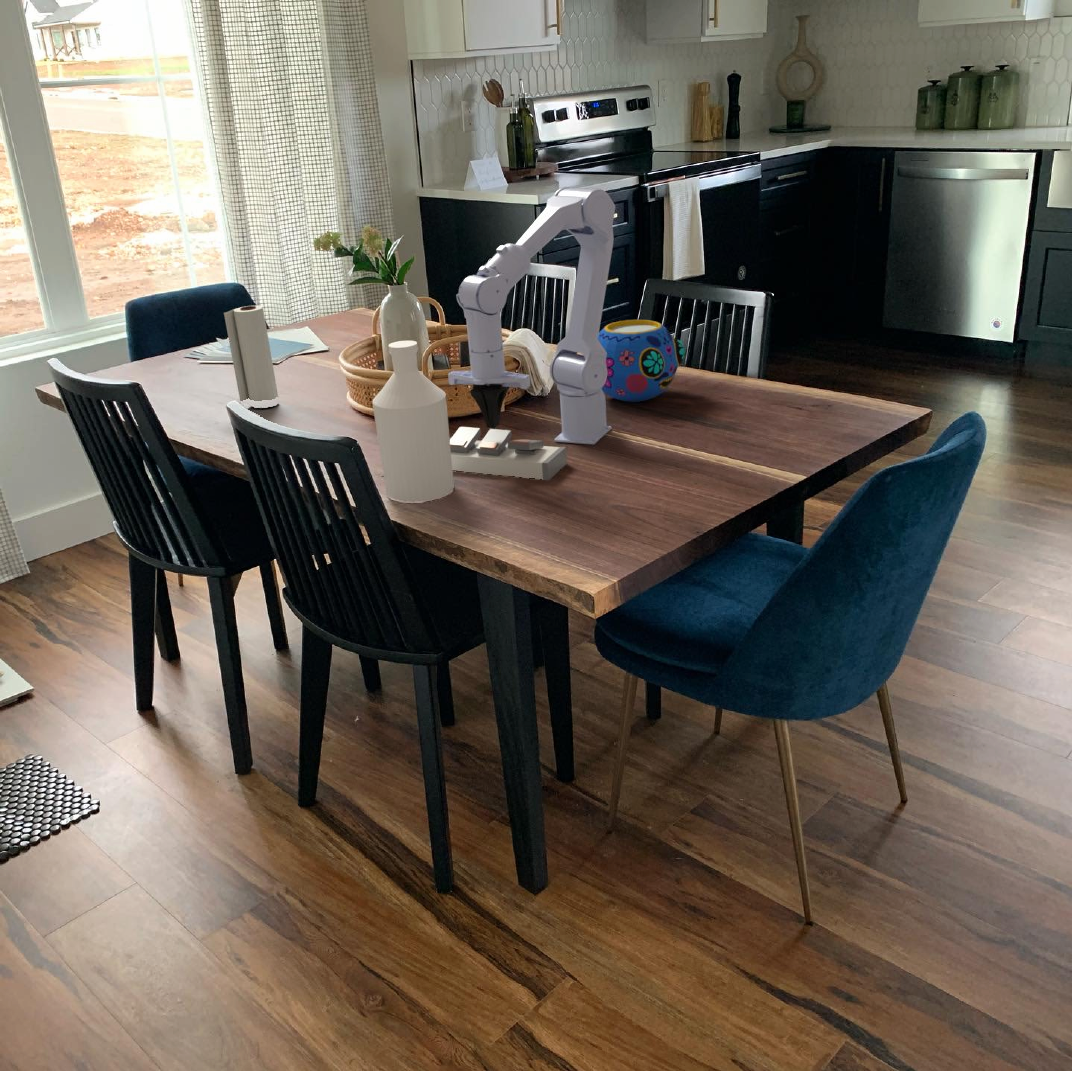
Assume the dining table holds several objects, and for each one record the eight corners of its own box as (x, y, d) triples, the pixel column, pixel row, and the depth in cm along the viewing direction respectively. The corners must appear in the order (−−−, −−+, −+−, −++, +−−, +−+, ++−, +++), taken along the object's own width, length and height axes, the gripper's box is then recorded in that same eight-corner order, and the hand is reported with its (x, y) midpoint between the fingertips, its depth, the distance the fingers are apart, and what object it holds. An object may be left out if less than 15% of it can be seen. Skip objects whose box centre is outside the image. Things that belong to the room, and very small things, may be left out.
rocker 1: (461, 432, 191) (459, 425, 190) (481, 433, 189) (479, 427, 189) (447, 451, 187) (445, 444, 186) (467, 453, 185) (465, 446, 184)
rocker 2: (491, 434, 189) (490, 427, 188) (512, 436, 187) (510, 429, 186) (477, 453, 185) (476, 447, 184) (498, 455, 183) (497, 448, 182)
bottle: (370, 493, 179) (350, 347, 169) (425, 473, 187) (408, 331, 177) (414, 510, 171) (396, 357, 161) (470, 487, 179) (455, 340, 169)
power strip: (421, 450, 198) (418, 432, 196) (566, 463, 186) (565, 444, 185) (398, 466, 191) (396, 447, 189) (548, 480, 179) (547, 460, 178)
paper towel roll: (283, 401, 234) (266, 303, 225) (274, 409, 229) (257, 310, 220) (251, 402, 235) (233, 305, 226) (241, 410, 229) (223, 311, 221)
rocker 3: (522, 446, 187) (522, 438, 186) (543, 447, 185) (543, 439, 185) (507, 448, 181) (507, 440, 181) (529, 450, 180) (529, 442, 179)
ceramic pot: (650, 416, 207) (648, 340, 201) (575, 404, 217) (571, 332, 211) (695, 392, 220) (694, 319, 213) (622, 382, 230) (619, 313, 224)
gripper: (436, 353, 178) (445, 430, 184) (515, 356, 173) (521, 436, 178) (456, 342, 184) (463, 417, 190) (533, 345, 178) (538, 423, 184)
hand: (492, 426), depth 184 cm, fingers closed
